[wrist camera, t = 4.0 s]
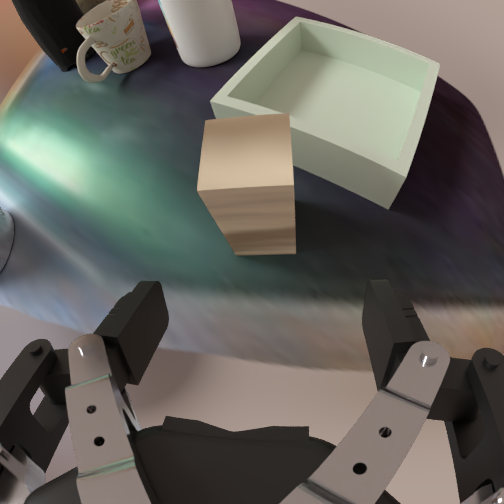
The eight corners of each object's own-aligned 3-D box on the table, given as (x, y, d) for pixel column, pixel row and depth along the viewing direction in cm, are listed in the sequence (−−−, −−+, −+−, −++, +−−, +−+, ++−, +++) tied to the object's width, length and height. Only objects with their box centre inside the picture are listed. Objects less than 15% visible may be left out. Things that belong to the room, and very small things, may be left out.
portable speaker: (89, 65, 37) (34, -21, 19) (50, 79, 39) (-4, 7, 20) (109, 36, 40) (65, -43, 22) (71, 50, 41) (26, -18, 23)
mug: (168, 41, 35) (146, -12, 26) (125, 100, 32) (88, 41, 23) (124, 47, 37) (99, 1, 28) (81, 103, 34) (44, 55, 24)
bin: (388, 209, 23) (406, 177, 18) (223, 138, 28) (209, 101, 23) (428, 97, 26) (440, 64, 22) (298, 49, 31) (295, 16, 26)
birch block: (295, 253, 23) (294, 184, 14) (236, 255, 24) (196, 190, 14) (293, 200, 24) (289, 113, 15) (238, 202, 25) (205, 120, 16)
